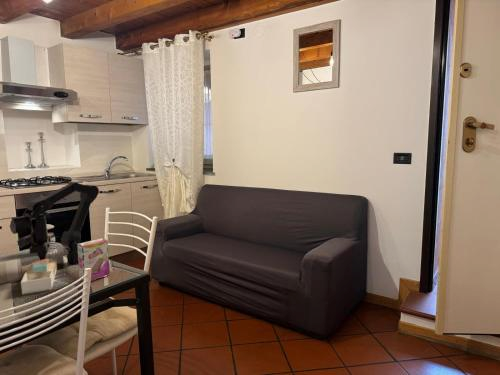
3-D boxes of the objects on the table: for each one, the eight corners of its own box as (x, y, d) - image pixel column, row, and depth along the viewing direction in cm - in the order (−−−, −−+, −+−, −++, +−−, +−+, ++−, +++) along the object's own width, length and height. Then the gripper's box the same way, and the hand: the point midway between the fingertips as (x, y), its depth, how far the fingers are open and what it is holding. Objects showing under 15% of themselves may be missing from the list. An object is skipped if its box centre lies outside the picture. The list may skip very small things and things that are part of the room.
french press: (62, 250, 186) (58, 205, 182) (41, 257, 176) (36, 209, 172) (50, 248, 190) (46, 204, 187) (29, 254, 180) (24, 208, 176)
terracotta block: (49, 263, 155) (48, 258, 155) (47, 267, 150) (47, 262, 150) (36, 265, 153) (35, 260, 152) (34, 269, 148) (34, 264, 148)
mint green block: (48, 267, 150) (47, 262, 150) (46, 271, 146) (46, 265, 146) (34, 269, 148) (34, 264, 148) (33, 273, 144) (32, 267, 144)
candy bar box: (85, 284, 142) (81, 246, 139) (79, 281, 145) (76, 243, 143) (110, 275, 150) (107, 239, 148) (104, 273, 153) (102, 237, 151)
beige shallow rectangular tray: (57, 267, 161) (56, 259, 161) (54, 279, 147) (53, 270, 147) (32, 270, 157) (31, 262, 157) (26, 283, 143) (25, 274, 142)
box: (54, 279, 147) (53, 268, 146) (51, 289, 137) (50, 277, 137) (26, 284, 143) (25, 272, 142) (22, 294, 133) (20, 282, 132)
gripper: (21, 225, 158) (25, 258, 160) (13, 236, 141) (17, 272, 143) (49, 223, 162) (52, 254, 164) (44, 232, 145) (48, 268, 148)
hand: (42, 262), depth 155 cm, fingers closed
